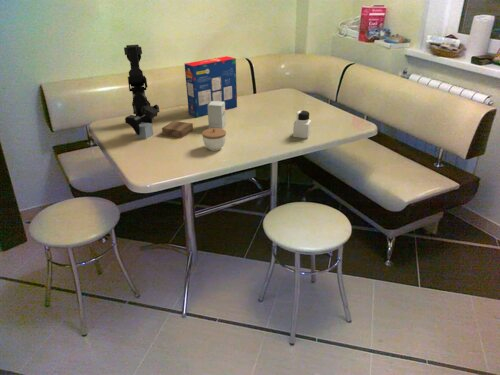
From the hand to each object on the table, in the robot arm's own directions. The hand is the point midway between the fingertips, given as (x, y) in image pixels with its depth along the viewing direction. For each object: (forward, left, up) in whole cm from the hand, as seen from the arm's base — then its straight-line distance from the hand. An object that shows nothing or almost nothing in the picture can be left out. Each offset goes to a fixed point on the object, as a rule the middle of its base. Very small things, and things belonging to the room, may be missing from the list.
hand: (144, 131), depth 202 cm
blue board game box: (+14, +47, -2) cm, 49 cm away
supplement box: (+28, +24, -2) cm, 37 cm away
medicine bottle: (+72, +28, -2) cm, 77 cm away
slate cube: (0, 0, -2) cm, 2 cm away
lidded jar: (+39, -1, -2) cm, 39 cm away
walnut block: (+13, +10, -3) cm, 17 cm away
